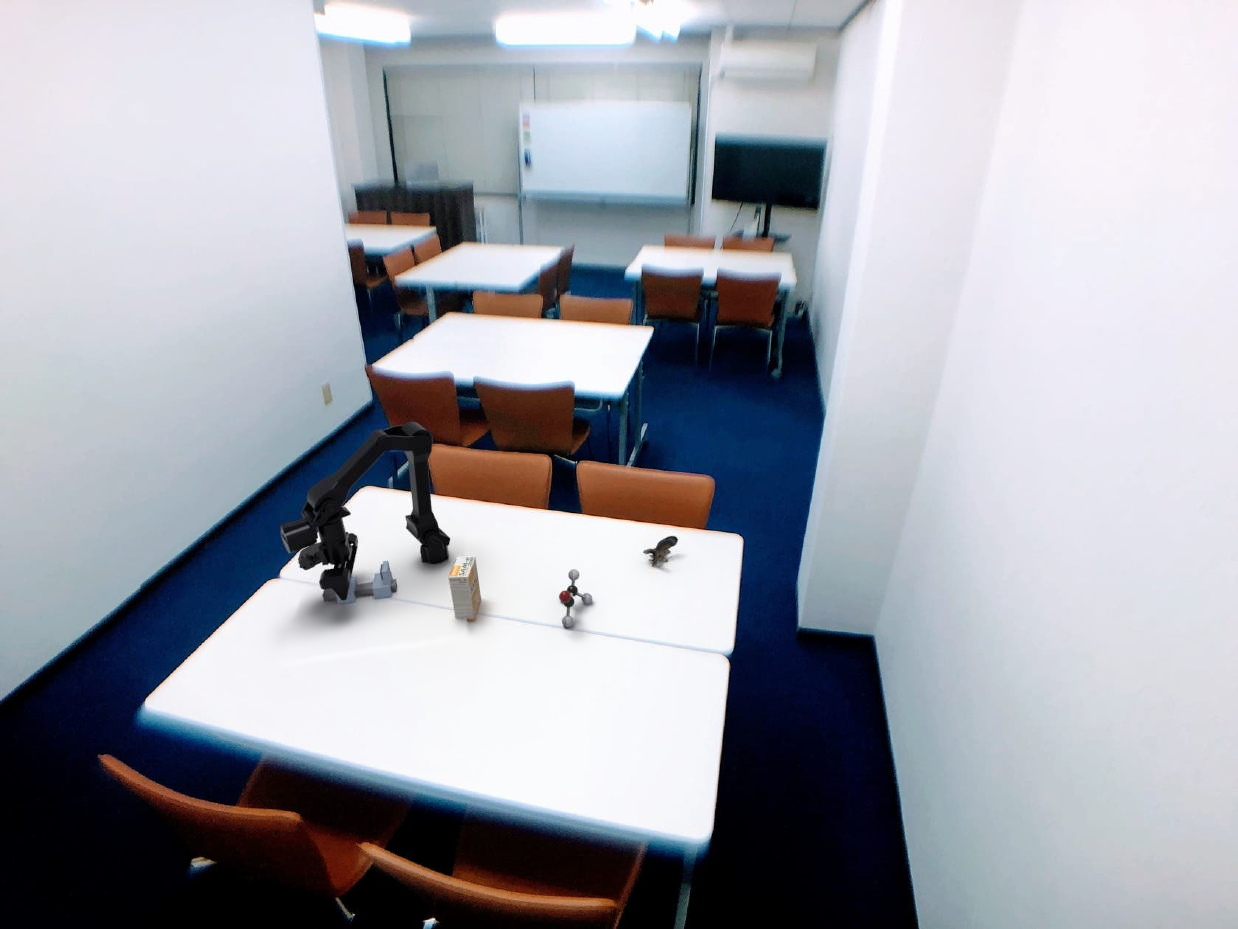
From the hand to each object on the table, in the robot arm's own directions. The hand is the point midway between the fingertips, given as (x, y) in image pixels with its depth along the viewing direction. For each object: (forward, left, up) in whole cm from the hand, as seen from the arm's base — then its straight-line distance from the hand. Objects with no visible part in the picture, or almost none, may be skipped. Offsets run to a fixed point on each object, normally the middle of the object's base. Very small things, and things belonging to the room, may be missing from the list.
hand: (346, 588), depth 169 cm
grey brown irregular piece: (-79, +2, -4) cm, 79 cm away
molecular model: (-53, +18, -4) cm, 56 cm away
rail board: (-3, 0, -3) cm, 4 cm away
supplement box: (-29, +11, -4) cm, 31 cm away
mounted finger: (-8, 0, -2) cm, 9 cm away
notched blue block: (0, 0, -2) cm, 2 cm away
